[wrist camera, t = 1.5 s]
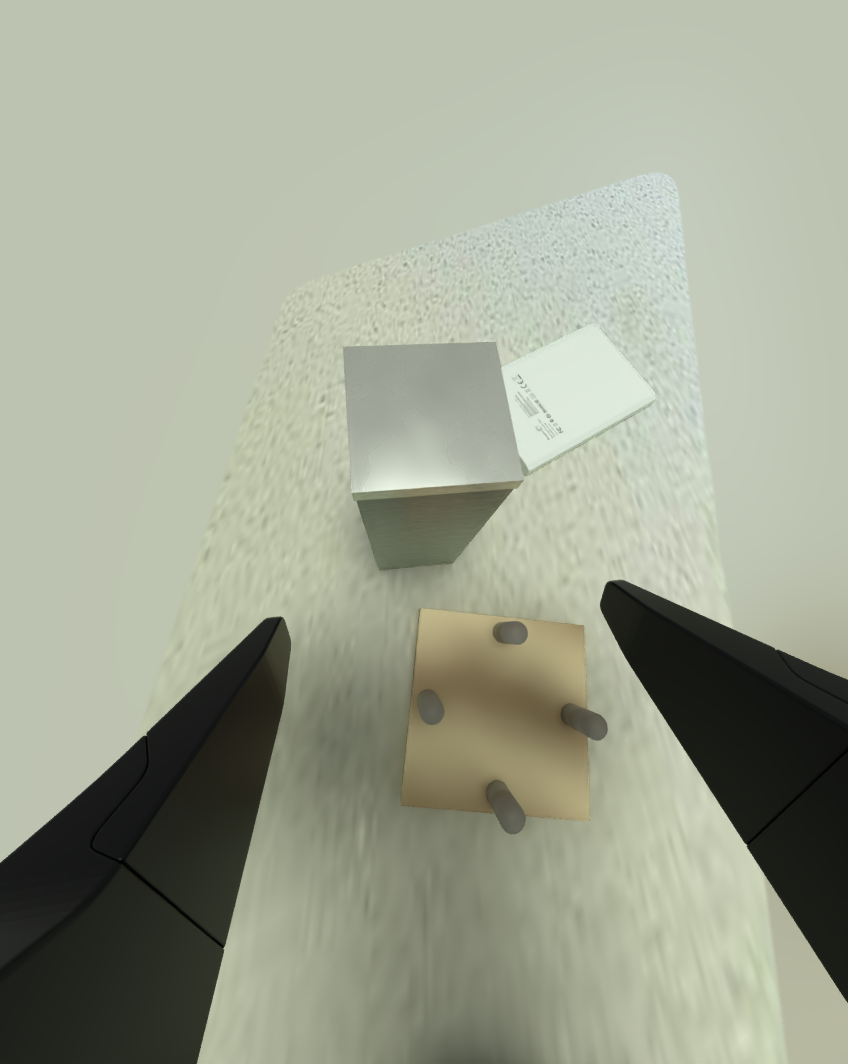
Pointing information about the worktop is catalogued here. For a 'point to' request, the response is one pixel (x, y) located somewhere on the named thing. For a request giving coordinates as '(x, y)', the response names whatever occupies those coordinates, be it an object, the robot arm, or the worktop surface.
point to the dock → (499, 718)
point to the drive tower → (428, 447)
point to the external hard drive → (570, 395)
